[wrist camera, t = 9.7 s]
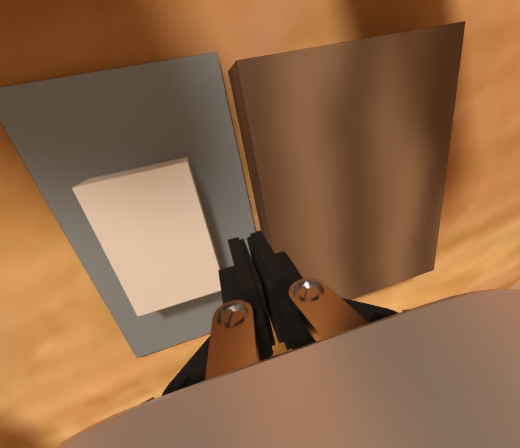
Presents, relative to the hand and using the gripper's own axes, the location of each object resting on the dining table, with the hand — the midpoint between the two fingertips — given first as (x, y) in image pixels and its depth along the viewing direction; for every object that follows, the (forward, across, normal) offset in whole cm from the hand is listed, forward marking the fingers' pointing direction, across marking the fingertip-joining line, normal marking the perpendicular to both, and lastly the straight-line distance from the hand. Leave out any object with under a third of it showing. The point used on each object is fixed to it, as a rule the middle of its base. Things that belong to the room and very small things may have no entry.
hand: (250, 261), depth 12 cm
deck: (+8, -9, 0) cm, 12 cm away
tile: (+6, +5, 0) cm, 7 cm away
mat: (+7, +5, 0) cm, 9 cm away
